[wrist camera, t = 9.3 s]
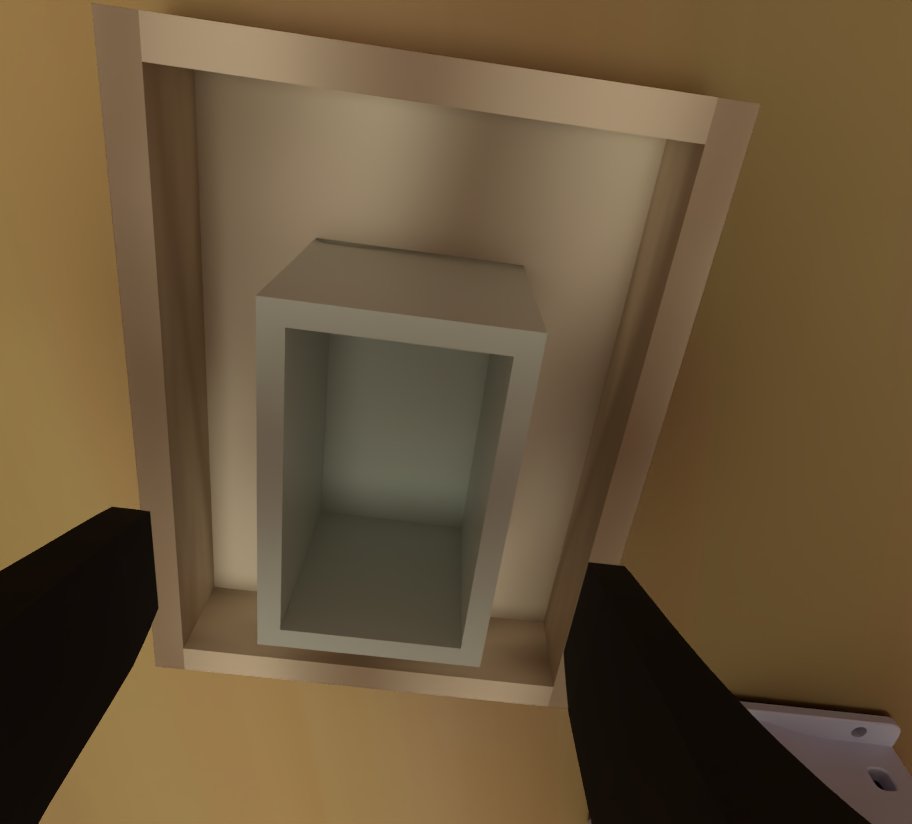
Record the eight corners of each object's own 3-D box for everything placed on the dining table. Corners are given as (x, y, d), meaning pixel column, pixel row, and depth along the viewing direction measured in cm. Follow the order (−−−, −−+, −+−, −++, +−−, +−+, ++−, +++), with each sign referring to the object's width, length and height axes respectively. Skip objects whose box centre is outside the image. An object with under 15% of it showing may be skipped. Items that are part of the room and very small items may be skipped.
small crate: (523, 265, 16) (547, 333, 11) (475, 533, 19) (479, 667, 15) (316, 237, 15) (256, 295, 11) (306, 513, 19) (257, 644, 14)
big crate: (705, 102, 14) (760, 104, 12) (560, 632, 21) (575, 709, 19) (163, 20, 14) (91, 2, 11) (195, 592, 21) (155, 666, 18)
